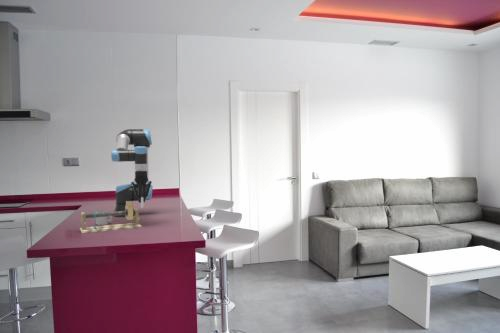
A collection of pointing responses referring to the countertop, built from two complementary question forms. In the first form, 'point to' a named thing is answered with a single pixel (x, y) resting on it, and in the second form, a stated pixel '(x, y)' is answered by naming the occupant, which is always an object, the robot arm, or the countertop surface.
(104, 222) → the cup
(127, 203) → the collar
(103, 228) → the rail
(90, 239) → the countertop surface
